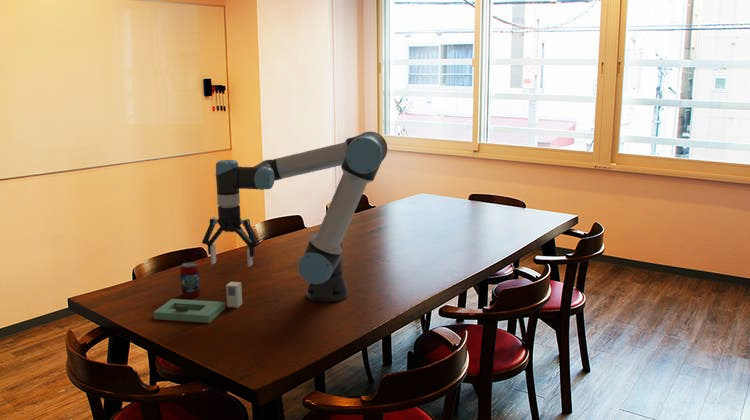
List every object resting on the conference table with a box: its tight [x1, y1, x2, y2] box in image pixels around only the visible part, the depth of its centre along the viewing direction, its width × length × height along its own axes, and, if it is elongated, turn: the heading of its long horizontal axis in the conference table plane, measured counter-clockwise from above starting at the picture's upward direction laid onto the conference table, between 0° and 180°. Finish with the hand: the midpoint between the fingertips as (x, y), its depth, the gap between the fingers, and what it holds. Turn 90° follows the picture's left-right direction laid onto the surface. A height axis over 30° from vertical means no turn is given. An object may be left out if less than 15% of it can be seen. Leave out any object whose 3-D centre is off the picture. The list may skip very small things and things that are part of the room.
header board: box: [153, 298, 226, 324], centre depth 235 cm, size 20×13×4 cm, turn 79°
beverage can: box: [179, 261, 202, 298], centre depth 252 cm, size 7×7×12 cm
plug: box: [225, 281, 243, 309], centre depth 242 cm, size 4×4×8 cm
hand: (231, 264), depth 240 cm, fingers open, 13 cm apart
